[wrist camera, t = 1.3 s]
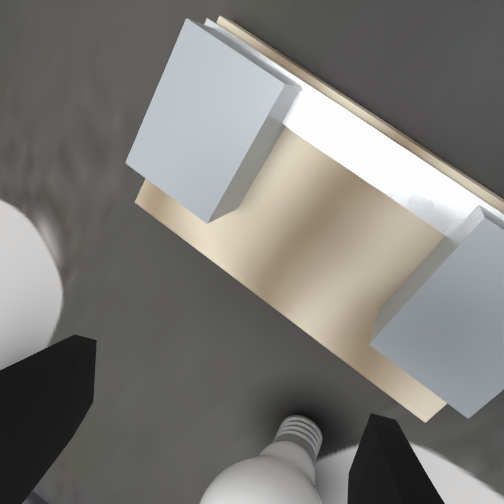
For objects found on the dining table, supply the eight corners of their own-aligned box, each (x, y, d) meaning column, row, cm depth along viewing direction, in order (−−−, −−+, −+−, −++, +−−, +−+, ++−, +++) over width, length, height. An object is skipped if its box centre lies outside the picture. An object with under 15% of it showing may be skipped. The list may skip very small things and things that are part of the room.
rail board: (590, 256, 20) (635, 299, 15) (425, 405, 24) (423, 471, 20) (232, 21, 22) (181, -1, 18) (149, 197, 27) (93, 214, 23)
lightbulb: (355, 479, 28) (311, 681, 18) (260, 457, 30) (175, 625, 20) (354, 391, 26) (305, 562, 16) (253, 375, 28) (157, 515, 18)
